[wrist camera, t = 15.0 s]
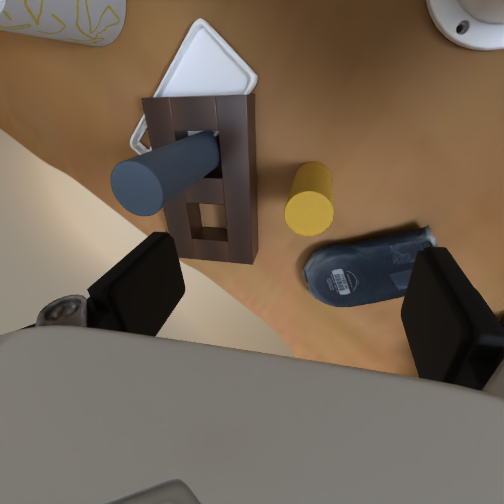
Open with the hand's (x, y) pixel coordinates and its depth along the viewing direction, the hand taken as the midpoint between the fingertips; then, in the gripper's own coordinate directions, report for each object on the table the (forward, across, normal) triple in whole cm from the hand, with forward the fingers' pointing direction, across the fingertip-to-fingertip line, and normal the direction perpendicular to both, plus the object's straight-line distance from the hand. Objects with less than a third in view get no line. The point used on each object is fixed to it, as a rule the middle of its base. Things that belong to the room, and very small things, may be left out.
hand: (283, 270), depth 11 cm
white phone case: (+21, +13, -4) cm, 25 cm away
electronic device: (+23, -7, +14) cm, 28 cm away
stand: (+22, +12, +3) cm, 25 cm away
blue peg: (+22, +12, 0) cm, 25 cm away
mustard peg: (+22, 0, +3) cm, 23 cm away
